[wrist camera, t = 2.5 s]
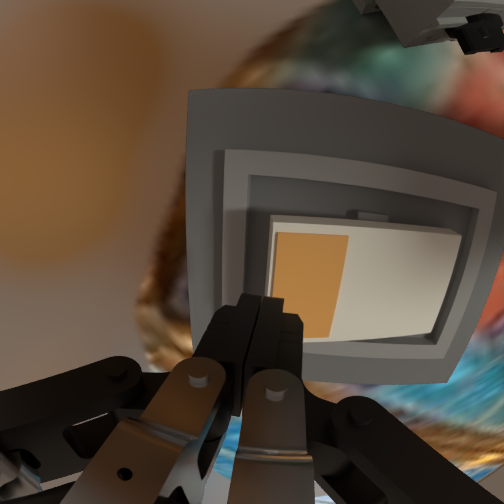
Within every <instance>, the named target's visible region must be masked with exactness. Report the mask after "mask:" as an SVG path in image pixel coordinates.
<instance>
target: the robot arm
mask: <svg viewBox="0 0 504 504" xmlns="http://www.w3.org/2000/svg"><path fill="white" fill-rule="evenodd" d="M262 300H263V301H262ZM283 306H284V298H278V297H270V296H264V297H263V296H261V295H253V294H246V293H241V295H240V298H239V300H238V303H237V305H236V306H231V305H224V306H222V307H221V308H220V309H218V310H217V311H215V313H214V315H213V317H212V319H211V321H210V323H209V324H208V326H207V329H206V330H205V332H204V334H203V336H202V338H201V340H200V342H199V344H198V346H197V348H196V350H195V352H194V354H193V356H192V358H188V359H185V360H182V361H181V362H179V363H178V364H177V365H176V366H175V367H174V368H173V370H172V371H171V372H164V373H149V372H142V371H141V367H140V365H139V364H138V363H137V362H136V361H135V360H133V359H131V358H129V357H125V356H113V357H109V358H106V359H103V360H100V361H97V362H94V363H91V364H89V365H86V366H82V367H79V368H76V369H73V370H70V371H67V372H64V373H61V374H58V375H55V376H51V377H48V378H45V379H42V380H38V381H35V382H31V383H28V384H25V385H21V386H18V387H14V388H11V389H7V390H3V391H0V504H201V503H202V500H203V496H204V492H205V486H206V483H207V480H208V478H209V476H210V473H211V471H212V469H213V466H214V464H215V462H216V459H217V457H218V454H219V452H220V449H221V447H222V445H223V442H224V440H225V437H226V430H227V428H228V426H229V422H230V419H231V415H232V416H237V417H240V414H241V410H242V424H241V430H240V437H239V443H238V449H237V451H236V454H235V459H234V465H233V471H232V477H231V483H230V489H229V495H228V501H227V504H315V492H314V480H315V481H316V482H317V483H318V484H319V486H321V488H322V489H323V490H324V491H325V492H326V493H327V494H328V495H329V497H330V498H331V499H332V500H333V501H334V502H335V503H336V504H504V503H503V502H502V501H501V500H499V499H498V498H496V497H495V496H494V495H492V494H491V493H490V492H488V491H487V490H485V489H484V488H483V487H482V486H480V485H479V484H478V483H476V482H475V481H474V480H473V479H471V478H470V477H469V476H467V475H466V474H465V473H463V472H462V471H461V470H460V469H458V468H457V467H456V466H454V465H453V464H452V463H451V462H449V461H448V460H447V459H446V458H444V457H443V456H442V455H441V454H439V453H438V452H437V451H436V450H434V449H433V448H432V447H431V446H429V445H428V444H427V443H426V442H424V441H423V440H422V439H421V438H420V437H418V436H417V435H416V434H415V433H413V432H412V431H411V430H410V429H409V428H407V427H406V426H405V425H404V424H403V423H401V422H400V421H399V420H398V419H397V418H395V417H394V416H393V415H392V414H391V413H389V412H388V411H387V410H386V409H385V408H384V407H382V406H381V405H380V404H379V403H377V402H376V401H374V400H373V399H370V398H368V397H363V396H350V397H347V398H344V399H342V400H341V401H339V402H338V403H337V404H336V403H333V402H329V401H326V400H323V399H321V398H318V397H317V396H315V395H313V394H312V393H311V392H309V391H308V390H307V388H306V387H305V386H304V384H303V381H302V358H303V330H304V323H303V322H302V320H301V318H300V317H299V315H298V314H293V313H284V312H283ZM242 406H243V408H242ZM105 413H108V414H107V415H104V416H101V417H99V418H96V419H93V420H90V421H87V422H84V423H82V424H79V425H75V426H72V425H74V424H77V423H80V422H82V421H85V420H88V419H91V418H94V417H97V416H99V415H102V414H105ZM81 471H83V472H82V474H81V475H80V476H79V478H78V479H77V481H73V482H70V483H67V484H64V485H61V486H58V487H54V488H52V489H48V490H45V491H42V488H41V486H40V483H43V482H47V481H51V480H54V479H58V478H62V477H65V476H68V475H72V474H75V473H78V472H81Z"/></svg>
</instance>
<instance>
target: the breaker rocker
mask: <svg viewBox="0 0 504 504" xmlns="http://www.w3.org/2000/svg"><path fill="white" fill-rule="evenodd" d="M461 238H462V236H461V235H460V234H458V233H456V232H454V231H452V230H451V229H447V228H438V227H429V226H419V225H409V224H399V223H388V222H376V221H364V220H351V219H337V218H322V217H306V216H288V215H271V216H270V230H269V244H268V258H267V271H266V284H265V296H270V297H278V298H284V306H283V312H284V313H293V314H298V315H299V317H300V318H301V320H302V322H303V323H304V330H303V342H331V341H350V340H365V339H377V338H388V337H398V336H407V335H416V334H424V333H431V331H432V328H433V326H434V324H435V321H436V318H437V316H438V313H439V311H440V308H441V305H442V302H443V299H444V297H445V294H446V291H447V288H448V285H449V281H450V278H451V275H452V272H453V268H454V265H455V261H456V258H457V254H458V250H459V246H460V242H461Z"/></svg>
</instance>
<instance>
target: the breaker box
mask: <svg viewBox="0 0 504 504" xmlns="http://www.w3.org/2000/svg"><path fill="white" fill-rule="evenodd" d="M271 215H288V216H306V217H322V218H337V219H351V220H364V221H376V222H388V223H399V224H409V225H419V226H429V227H438V228H447V229H451V230H452V231H454V232H456V233H458V234H460V235H461V236H462V238H461V242H460V246H459V250H458V254H457V258H456V261H455V265H454V268H453V272H452V275H451V278H450V281H449V285H448V288H447V291H446V294H445V297H444V299H443V302H442V305H441V308H440V311H439V313H438V316H437V318H436V321H435V324H434V326H433V328H432V331H431V333H424V334H416V335H407V336H398V337H388V338H377V339H365V340H350V341H331V342H303V358H302V380H308V381H319V382H332V383H349V384H380V385H404V384H434V383H447V382H448V380H449V378H450V377H451V375H452V373H453V371H454V370H455V368H456V366H457V364H458V362H459V360H460V358H461V357H462V355H463V353H464V351H465V349H466V347H467V345H468V343H469V341H470V338H471V336H472V334H473V332H474V330H475V328H476V325H477V323H478V321H479V318H480V316H481V314H482V311H483V309H484V306H485V304H486V301H487V299H488V296H489V293H490V290H491V288H492V285H493V282H494V279H495V276H496V273H497V270H498V267H499V263H500V260H501V256H502V253H503V249H504V139H502V138H500V137H497V136H495V135H493V134H490V133H488V132H485V131H482V130H480V129H477V128H475V127H472V126H469V125H466V124H463V123H460V122H457V121H454V120H451V119H448V118H445V117H442V116H438V115H435V114H431V113H428V112H424V111H420V110H417V109H413V108H409V107H404V106H400V105H396V104H391V103H386V102H381V101H376V100H371V99H365V98H359V97H353V96H347V95H339V94H332V93H323V92H314V91H303V90H289V89H268V88H218V89H198V90H189V96H188V112H187V136H186V247H187V272H188V291H189V307H190V321H191V334H192V345H193V354H194V352H195V350H196V348H197V346H198V344H199V342H200V340H201V338H202V336H203V334H204V332H205V330H206V329H207V326H208V324H209V323H210V321H211V319H212V317H213V315H214V313H215V311H217V310H218V309H220V308H221V307H222V306H224V305H231V306H236V305H237V303H238V300H239V298H240V295H241V293H246V294H253V295H261V296H263V297H264V296H265V284H266V271H267V258H268V244H269V230H270V216H271ZM262 301H263V300H262Z"/></svg>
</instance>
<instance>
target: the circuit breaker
mask: <svg viewBox="0 0 504 504" xmlns="http://www.w3.org/2000/svg"><path fill="white" fill-rule="evenodd" d="M352 2H353V3H354V5H355V6H356V8H357V9H358V11H359V12H360V14H361V15H362V14H367V13H373V12H378V11H382V12H383V14H384V15H385V17H386V19H387V20H388V22H389V23H390V25H391V27H392V28H393V30H394V32H395V34H396V35H397V37H398V39H399V41H400V43H401V44H402V46H403V48H407V47H413V46H419V45H425V44H432V43H439V42H444V41H447V40H450V41H458V43H459V45H460V47H461V49H462V51H463V53H464V55H469V54H475V53H477V52H487V51H490V52H491V53H493V52H503V50H504V33H503V31H502V30H504V0H352Z"/></svg>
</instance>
